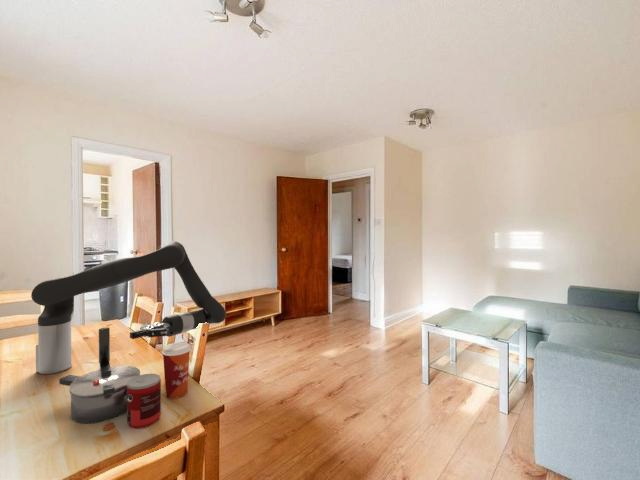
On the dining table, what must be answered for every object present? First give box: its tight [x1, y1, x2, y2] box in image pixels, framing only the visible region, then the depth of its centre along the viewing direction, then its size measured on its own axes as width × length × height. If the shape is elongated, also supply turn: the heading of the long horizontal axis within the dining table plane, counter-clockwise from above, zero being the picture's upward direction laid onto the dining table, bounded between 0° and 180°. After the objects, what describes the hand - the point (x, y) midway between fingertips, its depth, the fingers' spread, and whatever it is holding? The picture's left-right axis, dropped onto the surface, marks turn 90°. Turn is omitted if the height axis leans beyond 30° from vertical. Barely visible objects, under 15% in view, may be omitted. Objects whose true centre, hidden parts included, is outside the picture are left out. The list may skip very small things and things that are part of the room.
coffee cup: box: [161, 341, 192, 399], centre depth 96 cm, size 8×8×15 cm
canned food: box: [126, 373, 162, 429], centre depth 82 cm, size 8×8×11 cm
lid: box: [68, 327, 141, 397], centre depth 89 cm, size 23×17×13 cm
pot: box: [58, 374, 127, 425], centre depth 89 cm, size 28×16×7 cm, turn 76°
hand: (130, 335), depth 104 cm, fingers closed
